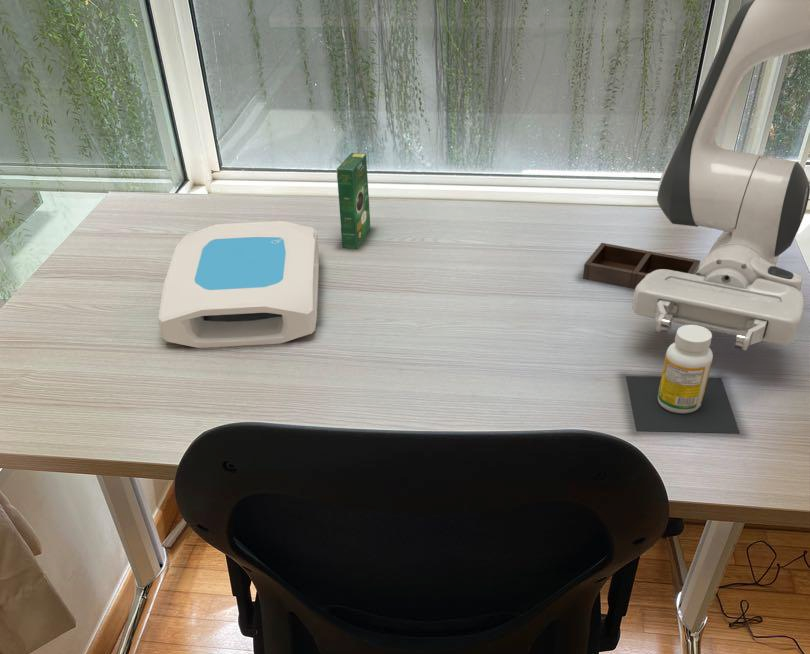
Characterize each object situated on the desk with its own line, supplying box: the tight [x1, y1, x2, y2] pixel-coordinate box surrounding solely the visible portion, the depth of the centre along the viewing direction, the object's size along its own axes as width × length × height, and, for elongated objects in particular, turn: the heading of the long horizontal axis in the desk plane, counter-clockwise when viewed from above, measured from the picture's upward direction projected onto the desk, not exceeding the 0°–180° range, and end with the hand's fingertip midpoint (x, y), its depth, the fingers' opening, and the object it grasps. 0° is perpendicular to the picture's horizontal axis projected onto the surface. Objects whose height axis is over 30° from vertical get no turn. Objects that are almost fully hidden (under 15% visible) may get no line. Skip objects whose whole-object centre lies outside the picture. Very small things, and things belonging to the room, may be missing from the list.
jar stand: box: [582, 242, 701, 290], centre depth 132 cm, size 15×8×3 cm, turn 63°
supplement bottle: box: [658, 324, 714, 414], centre depth 105 cm, size 5×5×10 cm
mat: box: [625, 375, 741, 435], centre depth 108 cm, size 12×12×1 cm
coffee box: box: [335, 152, 371, 250], centre depth 142 cm, size 8×3×13 cm, turn 165°
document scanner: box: [157, 220, 320, 349], centre depth 130 cm, size 21×28×6 cm
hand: (701, 335), depth 105 cm, fingers open, 8 cm apart
